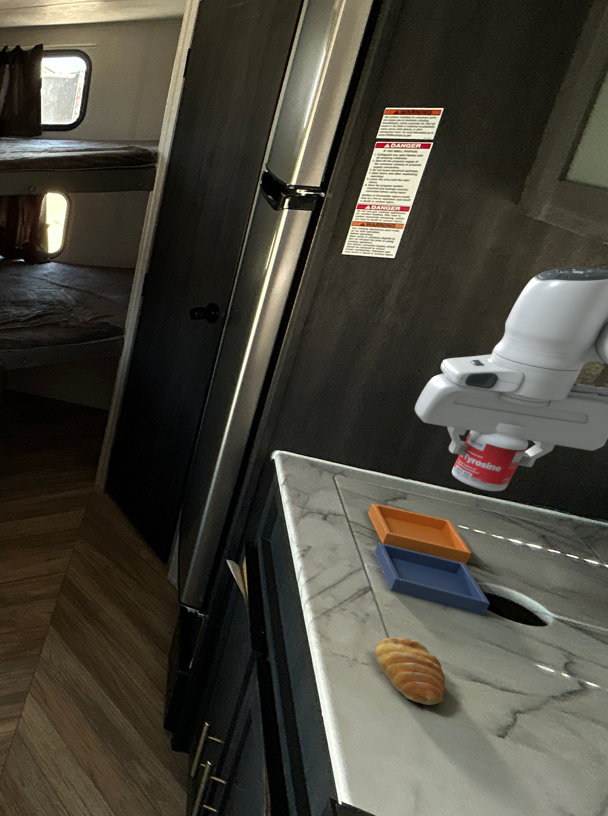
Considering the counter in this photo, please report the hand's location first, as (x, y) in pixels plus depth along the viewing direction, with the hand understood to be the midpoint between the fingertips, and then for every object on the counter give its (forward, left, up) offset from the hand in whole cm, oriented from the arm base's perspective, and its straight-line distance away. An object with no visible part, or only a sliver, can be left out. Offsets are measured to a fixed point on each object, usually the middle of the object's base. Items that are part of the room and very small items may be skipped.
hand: (487, 458), depth 97 cm
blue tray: (+2, +4, -22) cm, 23 cm away
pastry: (+10, +29, -22) cm, 38 cm away
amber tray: (0, -10, -22) cm, 24 cm away
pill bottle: (0, 0, -4) cm, 4 cm away
